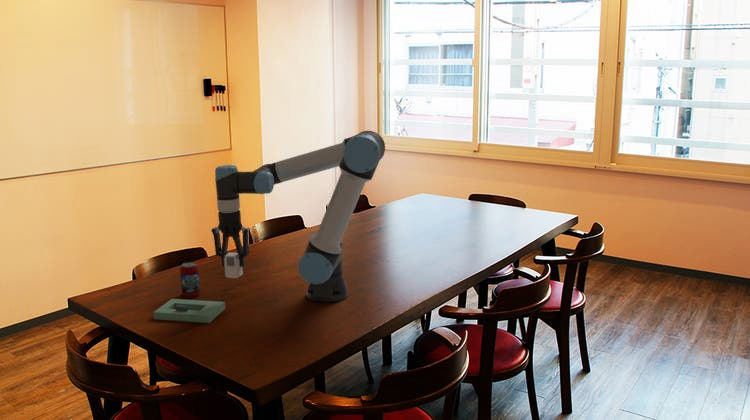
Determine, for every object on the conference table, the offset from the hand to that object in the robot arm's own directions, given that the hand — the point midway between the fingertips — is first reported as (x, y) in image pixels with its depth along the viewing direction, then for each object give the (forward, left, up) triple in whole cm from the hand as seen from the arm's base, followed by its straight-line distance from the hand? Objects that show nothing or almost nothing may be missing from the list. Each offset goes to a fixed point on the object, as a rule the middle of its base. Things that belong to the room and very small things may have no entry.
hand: (234, 274), depth 241 cm
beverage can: (+20, -7, -12) cm, 24 cm away
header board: (+12, +11, -11) cm, 20 cm away
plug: (0, 0, 0) cm, 0 cm away
